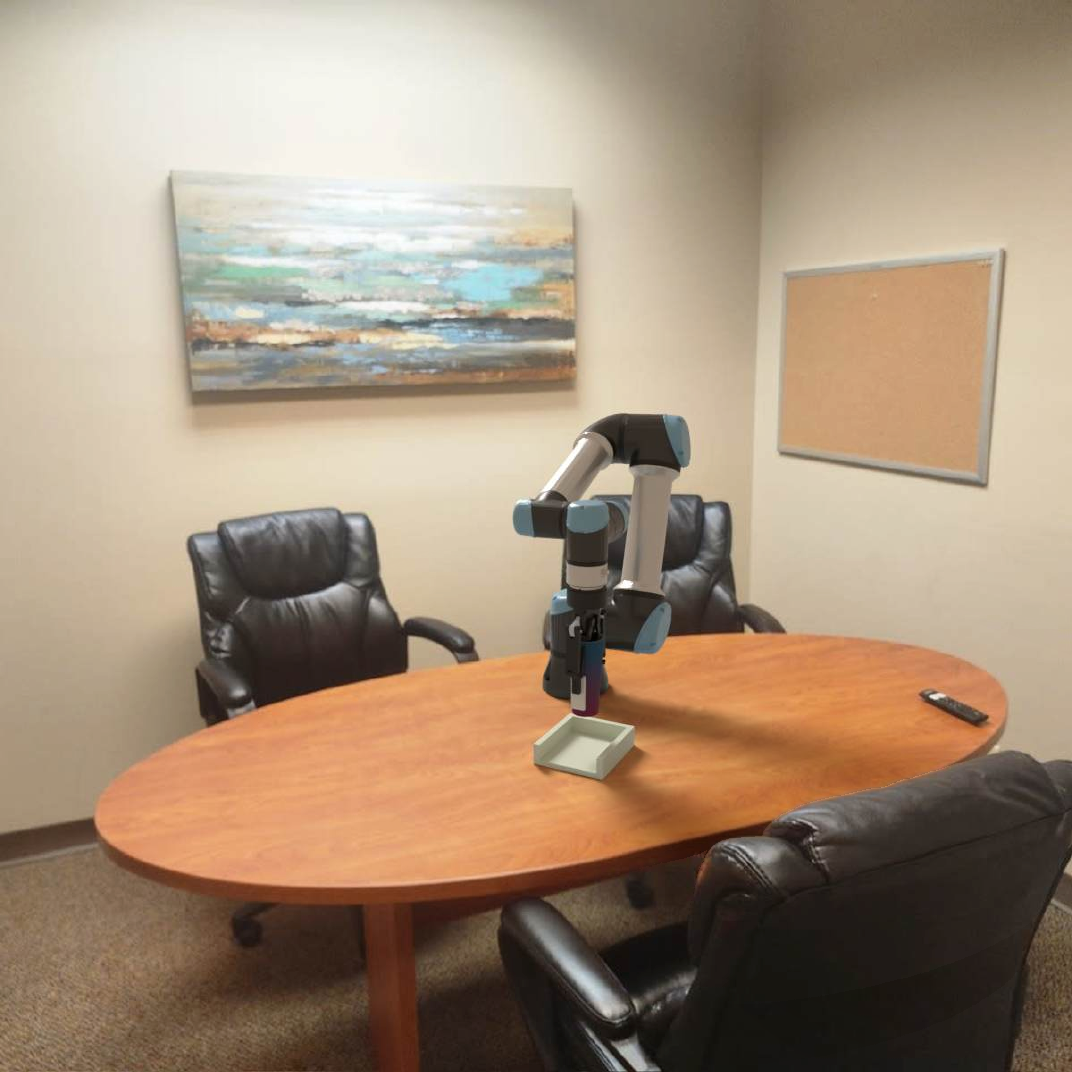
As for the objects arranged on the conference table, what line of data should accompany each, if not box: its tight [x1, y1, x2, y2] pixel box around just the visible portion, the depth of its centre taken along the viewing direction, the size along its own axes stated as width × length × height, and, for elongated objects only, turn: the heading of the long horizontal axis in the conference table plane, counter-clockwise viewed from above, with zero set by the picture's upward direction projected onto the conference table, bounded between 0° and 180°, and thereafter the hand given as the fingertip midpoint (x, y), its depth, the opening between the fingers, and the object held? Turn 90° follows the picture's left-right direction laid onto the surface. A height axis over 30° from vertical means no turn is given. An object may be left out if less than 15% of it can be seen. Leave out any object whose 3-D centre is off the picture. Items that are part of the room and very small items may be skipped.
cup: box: [570, 633, 604, 717], centre depth 166 cm, size 7×7×15 cm
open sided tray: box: [533, 712, 636, 781], centre depth 170 cm, size 14×16×4 cm
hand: (585, 702), depth 168 cm, fingers closed on cup, 6 cm apart
